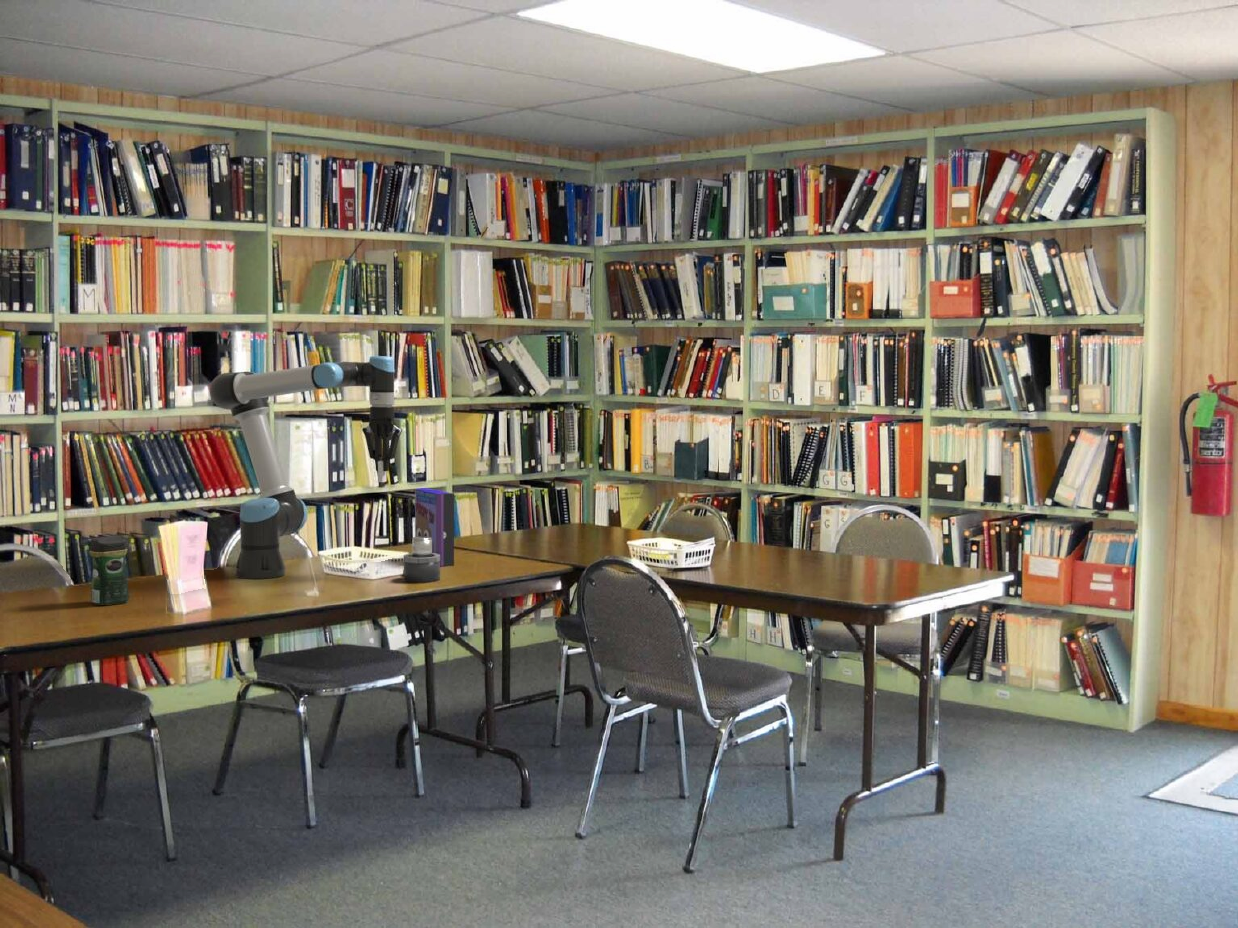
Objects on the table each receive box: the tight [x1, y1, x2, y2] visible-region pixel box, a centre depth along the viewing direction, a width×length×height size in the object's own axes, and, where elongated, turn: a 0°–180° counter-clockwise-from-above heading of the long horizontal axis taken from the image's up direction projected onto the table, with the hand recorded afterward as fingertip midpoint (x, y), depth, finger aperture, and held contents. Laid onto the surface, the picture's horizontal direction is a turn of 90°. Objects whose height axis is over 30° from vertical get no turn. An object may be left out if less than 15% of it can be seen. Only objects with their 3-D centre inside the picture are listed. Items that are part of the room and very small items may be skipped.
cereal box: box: [414, 488, 455, 568], centre depth 442 cm, size 17×5×24 cm, turn 37°
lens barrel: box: [403, 552, 441, 584], centre depth 411 cm, size 11×11×8 cm
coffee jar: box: [89, 535, 130, 606], centre depth 369 cm, size 10×8×19 cm
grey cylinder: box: [411, 536, 432, 558], centre depth 410 cm, size 6×6×7 cm
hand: (382, 481), depth 416 cm, fingers closed
